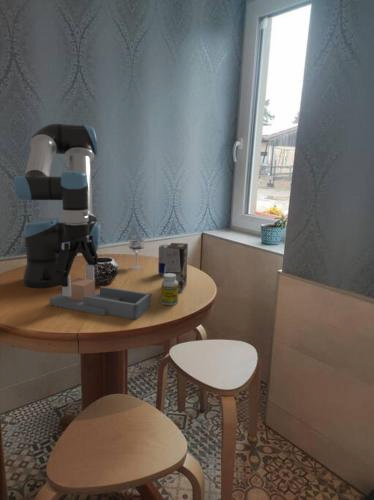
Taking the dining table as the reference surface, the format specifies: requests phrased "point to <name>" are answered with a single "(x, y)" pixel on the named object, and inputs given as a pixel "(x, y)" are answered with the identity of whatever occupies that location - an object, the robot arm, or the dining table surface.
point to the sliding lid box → (108, 302)
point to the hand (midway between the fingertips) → (79, 289)
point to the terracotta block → (82, 288)
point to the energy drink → (162, 260)
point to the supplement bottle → (169, 289)
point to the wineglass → (136, 249)
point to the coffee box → (177, 263)
